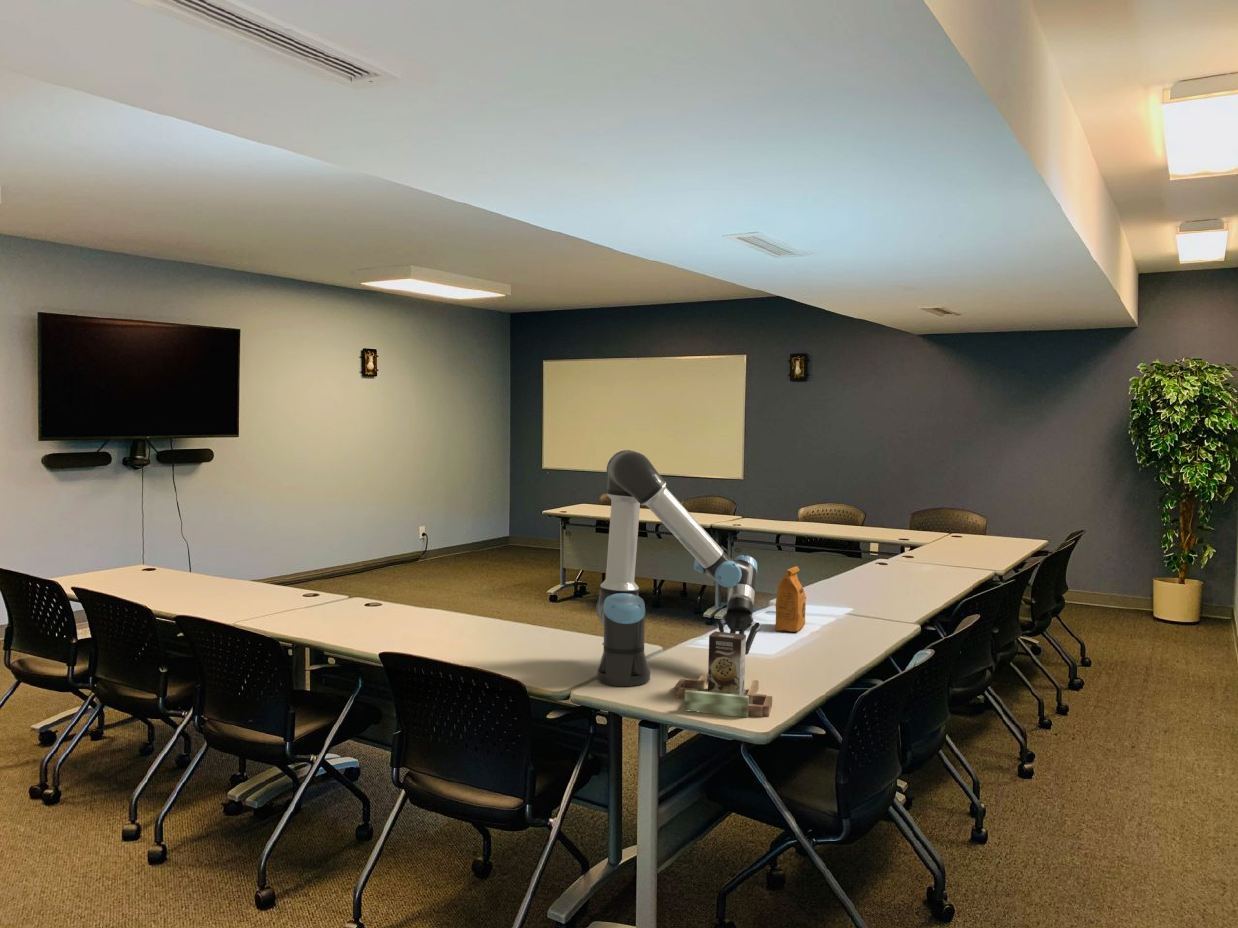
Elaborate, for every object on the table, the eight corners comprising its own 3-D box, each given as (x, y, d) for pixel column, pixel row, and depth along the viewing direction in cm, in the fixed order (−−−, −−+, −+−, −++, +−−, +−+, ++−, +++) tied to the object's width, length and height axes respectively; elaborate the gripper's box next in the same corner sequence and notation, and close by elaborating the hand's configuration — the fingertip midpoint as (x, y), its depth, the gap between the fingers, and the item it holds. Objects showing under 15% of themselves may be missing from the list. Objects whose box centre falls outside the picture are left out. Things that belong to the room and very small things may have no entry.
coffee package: (809, 627, 311) (811, 566, 310) (798, 634, 301) (799, 571, 299) (783, 624, 316) (784, 564, 315) (771, 630, 306) (772, 569, 304)
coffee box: (706, 694, 234) (707, 635, 233) (712, 687, 240) (713, 630, 239) (740, 698, 231) (741, 638, 230) (745, 691, 237) (746, 633, 236)
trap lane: (665, 708, 222) (665, 689, 222) (683, 682, 245) (683, 664, 244) (767, 719, 215) (768, 699, 215) (776, 691, 238) (777, 673, 237)
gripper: (763, 611, 259) (756, 682, 244) (720, 608, 263) (710, 678, 247) (762, 597, 254) (754, 669, 239) (717, 594, 257) (707, 665, 242)
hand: (732, 674), depth 243 cm, fingers closed
